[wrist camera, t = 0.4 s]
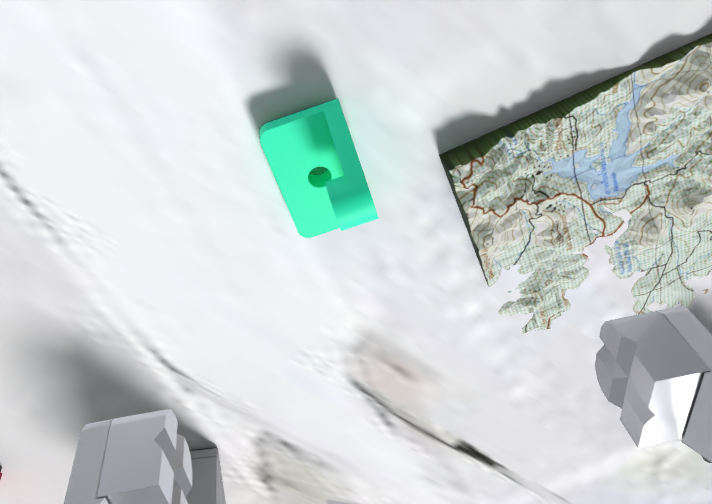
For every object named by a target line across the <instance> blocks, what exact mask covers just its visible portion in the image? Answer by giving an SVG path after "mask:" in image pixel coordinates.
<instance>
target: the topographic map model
mask: <svg viewBox="0 0 712 504" xmlns="http://www.w3.org/2000/svg"><path fill="white" fill-rule="evenodd" d="M439 156H440V159H441V162H442V164H443V167H444V170H445V172H446V175H447V178H448V180H449V183H450V186H451V188H452V191H453V194H454V196H455V199H456V202H457V204H458V207H459V210H460V212H461V215H462V218H463V220H464V223H465V226H466V228H467V230H468V233H469V236H470V238H471V241H472V244H473V247H474V249H475V252H476V255H477V258H478V260H479V263H480V265H481V268H482V271H483V273H484V276H485V279H486V281H487V284H488V286H489V287H490V286H492V285H493V284H494V283H495V282H496V280H497V279H498V277H499V275H500V273H501V269H502V268H503V267H505V268H504V269H506V270H508V269H510V266H512V265H516V264H521V265H522V266H521V267H519V269H518V271H519V273H520V274H526V273H528V272H531V271H534V270H535V271H534V273H533V274H532V275H531V276H530V277H529V278H528V279H527V280H526V281H524V282H522V283H520V284H519V285H518V287H517V289H519V290H521V292H519V293H520V294H521V298H519V299H518V300H517V301H516V302H507V303H505V304H504V305H503V306H502V307H501V308H500V310H499V314H506V315H510V316H512V315H515V314H520V313H522V314H528V313H531V312H534V314H533V318H532V319H531V320H530V321H529V322H528V323H527V324H526V326H524V327H523V328H522V333H523V334H524V333H526V332H527V331H530V330H532V329H534V328H538V327H540V328H539V329H538V330H543V329H550V325H551V324H552V323H551V321H553V320H555V319H556V318H558V317H559V316H561V313H562V312H564V311H567V310H569V309H570V303H569V300H567V299H564V295H565V292H566V289H567V288H569V289H578V288H579V287H580V284H581V283H582V282H583V281H585V279H586V278H587V276H588V275H589V269H587V268H585V267H583V264H584V263H585V262H586V261H588V256H586V255H585V254H572V253H574V252H575V251H580V252H583V250H584V247H586V246H588V245H591V244H594V241H595V240H596V238H598V237H606V236H610V235H613V233H615V232H616V231H617V230H618V229H619V228H620V227H621V226H622V225H623V224H624V221H623V219H622V218H621V217H617V216H614V215H613V214H612V213H614V212H616V211H619V210H622V209H624V210H627V211H628V212H629V213H630V214H631V215H632V218H631V219H630V220H629V221H628V224H629V226H628V229H627V231H625V232H624V233H623V234H622V235H621V236H620V237H619V238H618V239H617V240H616V241H615V243H614V247H612V248H610V247H608V246H607V245H606V246H605V248H604V249H605V250H606V251H607V252H608V254H609V255H610V259H609V263H610V264H613V265H615V267H614V268H613V270H612V271H613V272H614V273H615V274H616V275H617V276H618V277H619V278H620V279H623V278H628V277H630V276H632V274H633V273H634V272H642V271H646V270H647V272H646V274H645V275H646V276H644V277H642V278H640V279H638V280H637V282H636V283H634V286H633V287H632V290H631V292H632V294H633V297H635V298H636V299H638V300H637V301H636V302H635V303H634V304H633V310H634V312H635V313H636V314H638V315H639V314H643V313H648V312H652V311H650V310H648V309H647V306H649V305H650V304H651V303H653V302H657V303H659V304H660V305H663V304H668V305H667V308H673V307H674V306H676V305H677V304H679V302H680V301H681V304H682V305H681V306H683V307H686V308H689V307H690V305H691V303H692V301H693V299H694V298H695V292H694V290H693V289H692V288H691V287H689V286H688V285H686V281H687V280H688V279H690V278H692V277H694V276H695V275H696V276H698V277H700V278H702V277H704V276H707V275H708V274H709V272H710V271H711V270H712V34H710V35H707V36H706V37H703V38H700V39H698V40H696V41H694V42H692V43H689V44H687V45H685V46H683V47H680V48H678V49H676V50H674V51H671V52H669V53H667V54H665V55H662V56H660V57H658V58H656V59H653V60H651V61H649V62H647V63H645V64H643V65H641V66H638V67H636V68H634V69H632V70H629V71H627V72H625V73H622V74H620V75H618V76H616V77H613V78H611V79H609V80H607V81H605V82H603V83H600V84H598V85H595V86H593V87H591V88H589V89H586V90H584V91H582V92H580V93H578V94H575V95H573V96H571V97H569V98H566V99H564V100H562V101H560V102H557V103H555V104H553V105H551V106H548V107H546V108H544V109H542V110H540V111H537V112H535V113H533V114H531V115H528V116H526V117H524V118H521V119H519V120H517V121H515V122H513V123H510V124H508V125H506V126H503V127H501V128H499V129H497V130H494V131H492V132H490V133H488V134H486V135H483V136H481V137H479V138H477V139H474V140H472V141H470V142H468V143H465V144H463V145H461V146H459V147H456V148H454V149H452V150H450V151H447V152H445V153H443V154H441V155H439ZM603 206H605V207H607V208H609V209H610V210H611V211H612V213H610V212H608V211H606V210H605V209H604V208H603ZM593 230H598V231H597V234H596V233H591V232H592V231H593ZM684 274H687V275H686V276H685V277H684V276H683V275H684ZM511 292H512V291H509V292H508V293H511ZM703 292H704V294H705V293H707V292H708V289H706V290H703ZM535 331H536V330H535Z"/></svg>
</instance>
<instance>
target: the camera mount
mask: <svg viewBox="0 0 712 504" xmlns="http://www.w3.org/2000/svg"><path fill="white" fill-rule="evenodd" d="M260 143H261V146H262V148H263V151H264V153H265V155H266V158H267V160H268V162H269V165H270V167H271V169H272V172H273V174H274V176H275V179H276V181H277V183H278V186H279V188H280V190H281V193H282V195H283V197H284V200H285V202H286V205H287V207H288V209H289V212H290V214H291V216H292V219H293V221H294V223H295V226H296V228H297V230H298V233H299V234H300V235H301V236H303V237H305V238H311V237H314V236H317V235H320V234H323V233H326V232H329V231H332V230H335V229H338V228H340V229H341V231H343V230H345V229H348V228H351V227H354V226H357V225H360V224H363V223H366V222H369V221H372V220H375V219H378V215H377V212H376V209H375V206H374V203H373V200H372V197H371V194H370V191H369V188H368V185H367V182H366V179H365V176H364V173H363V170H362V167H361V164H360V161H359V158H358V155H357V153H356V150H355V147H354V144H353V141H352V138H351V135H350V132H349V129H348V126H347V123H346V120H345V117H344V114H343V112H342V109H341V106H340V103H339V100H338V99H335V100H332V101H329V102H326V103H323V104H320V105H317V106H314V107H311V108H309V109H306V110H303V111H300V112H297V113H294V114H291V115H288V116H285V117H283V118H280V119H277V120H274V121H271V122H268V123H266V124H264V125H263V126H262V127H261V129H260ZM316 167H325V168H327V170H326V171H325V172H324V173H322V174H320V175H313V174H310V171H311V170H312V169H314V168H316Z"/></svg>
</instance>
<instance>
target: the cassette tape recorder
mask: <svg viewBox="0 0 712 504" xmlns="http://www.w3.org/2000/svg"><path fill="white" fill-rule="evenodd" d="M190 455H191V463H192V473H193V474H192V488H191V490H190V491H189V492H188V494H187V495H186V497H185V498H186V500H187V502H188V504H225V496H224V489H223V482H222V475H221V468H220V461H219V454H218V448H214V449H205V450H196V451H190Z"/></svg>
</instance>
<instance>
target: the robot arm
mask: <svg viewBox="0 0 712 504" xmlns="http://www.w3.org/2000/svg"><path fill="white" fill-rule="evenodd" d="M599 337H600V338H601V340H602V341H603V343H604V344H605V345H604V346H603V347H602V348H601V349H600V350H599V351H598V352H597V354H596V362H595V368H596V374H597V380H598V382H599V385H600V387H601V389H602V391H603V393H604V395H605V396H606V398H607V400H608V401H609V402H611V403H613V404H615V405H616V406H618V407H620V408H622V411H621V417H620V420H621V422H622V424H623V425H624V427H625V428H626V430H627V431H628V433H629V435H630V436H631V438H632V439H633V441H634V442H635V444H636V446H637V447H638V448H642V447H648V446H653V445H659V444H664V443H669V442H675V441H680V440H683V442H682V443H684V444H685V445H687V446H688V447H690V448H691V449H693V450H694V451H696V452H697V453H699V454H700V455H702V456H703V457H704V458H706V459H707V460H709V461H710V462H712V334H711V333H710V332H709V331H708V330H707V329H706V328H705V327H704V326H703V324H702V323H701V322H700V321H699V320H698V319H697V318H696V317H695V316H694V315H693V313H692V312H691V311H690V310H689V309H688V308H686V307H683V306H678V307H673V308H669V309H664V310H659V311H656V312H648V313H643V314H639V315H634V316H629V317H624V318H620V319H615V320H610V321H605V322H604V324H603V325H602V327H601V331H600V336H599ZM177 425H178V421H177V418H176V416H175V414H174V412H173V410H172V409H166V410H160V411H155V412H149V413H143V414H137V415H132V416H126V417H120V418H114V419H111V420H105V421H100V422H94V423H88V424H85V426H84V428H83V429H82V431H81V432H80V436H79V440H78V445H77V449H76V453H75V458H74V462H73V466H72V471H71V475H70V479H69V484H68V488H67V492H66V496H65V501H64V504H188V502H187V500H186V498H185V497H186V495H187V494H188V492H189V491H190V490H191V488H192V474H193V473H192V463H191V455H190V451H189V447H188V444H187V442H186V439H185V437H184V436H182V435H180V434H178V433H177Z"/></svg>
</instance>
